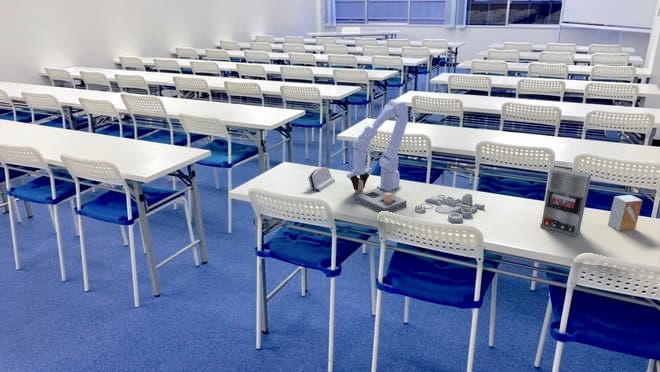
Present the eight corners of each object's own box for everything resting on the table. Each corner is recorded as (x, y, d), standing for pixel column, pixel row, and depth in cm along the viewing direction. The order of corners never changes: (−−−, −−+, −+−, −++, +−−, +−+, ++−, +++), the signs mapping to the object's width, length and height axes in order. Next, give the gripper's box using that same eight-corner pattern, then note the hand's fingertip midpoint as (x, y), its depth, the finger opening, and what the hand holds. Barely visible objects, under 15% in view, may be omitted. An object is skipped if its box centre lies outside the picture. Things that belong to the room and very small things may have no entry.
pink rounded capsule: (359, 189, 235) (359, 178, 233) (364, 191, 232) (364, 180, 230) (353, 191, 233) (353, 180, 231) (358, 193, 230) (358, 182, 228)
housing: (354, 200, 222) (354, 195, 222) (376, 193, 231) (376, 188, 230) (384, 213, 208) (385, 208, 207) (406, 205, 216) (406, 200, 215)
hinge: (319, 191, 233) (313, 172, 231) (311, 193, 235) (305, 174, 234) (335, 181, 247) (329, 163, 245) (328, 182, 249) (322, 165, 247)
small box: (619, 231, 190) (626, 202, 186) (607, 224, 196) (613, 196, 191) (635, 229, 192) (643, 200, 187) (623, 222, 198) (630, 194, 193)
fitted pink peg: (387, 203, 218) (388, 191, 216) (394, 206, 215) (394, 194, 213) (381, 206, 216) (382, 193, 214) (387, 208, 213) (388, 196, 211)
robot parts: (408, 211, 213) (409, 200, 211) (437, 195, 230) (438, 185, 228) (458, 226, 197) (459, 215, 195) (485, 208, 214) (486, 197, 212)
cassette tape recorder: (539, 227, 194) (549, 170, 185) (544, 222, 198) (554, 166, 190) (575, 237, 186) (587, 178, 177) (580, 232, 190) (592, 174, 181)
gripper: (364, 157, 235) (364, 183, 239) (342, 163, 226) (342, 189, 231) (374, 161, 229) (373, 186, 234) (352, 167, 221) (352, 193, 226)
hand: (359, 188), depth 232 cm, fingers closed on pink rounded capsule, 4 cm apart
